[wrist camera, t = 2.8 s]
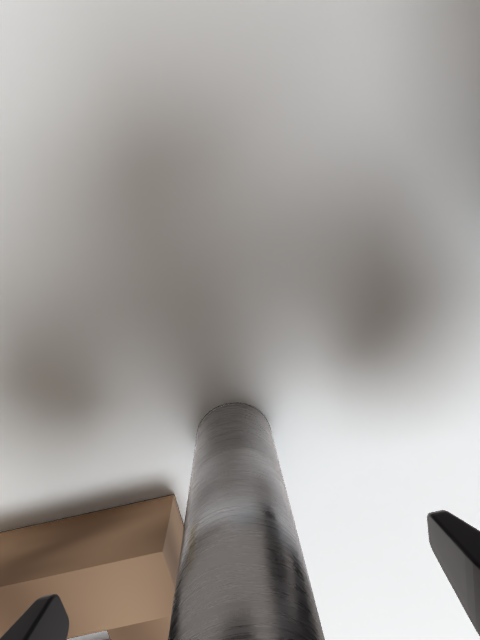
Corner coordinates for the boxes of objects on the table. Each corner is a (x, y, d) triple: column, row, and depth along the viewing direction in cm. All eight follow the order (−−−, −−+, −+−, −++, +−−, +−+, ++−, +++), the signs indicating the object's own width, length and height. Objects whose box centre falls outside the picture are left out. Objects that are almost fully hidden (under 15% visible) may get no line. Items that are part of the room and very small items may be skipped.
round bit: (263, 395, 13) (326, 628, 5) (277, 460, 13) (351, 754, 6) (188, 411, 13) (134, 669, 5) (206, 476, 13) (182, 792, 6)
